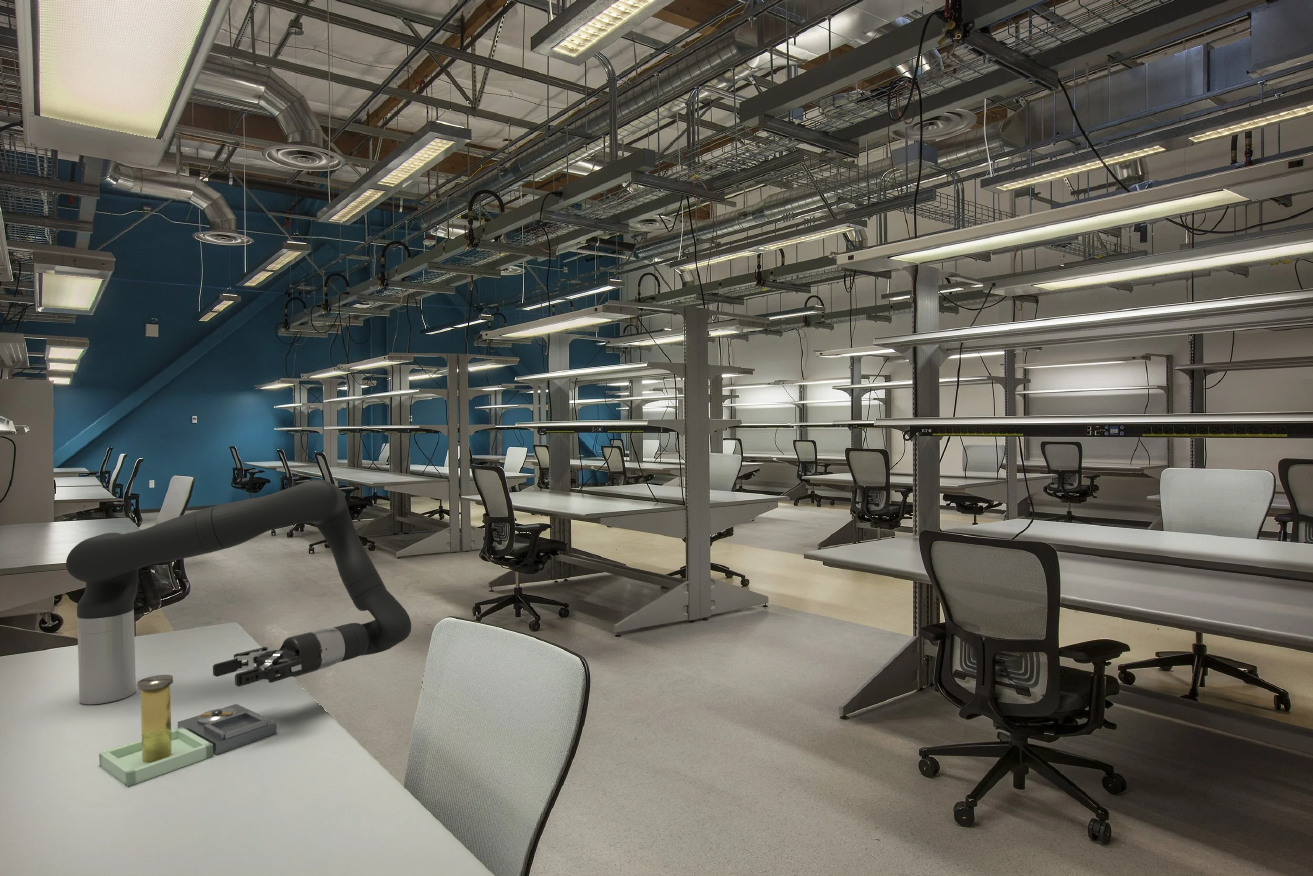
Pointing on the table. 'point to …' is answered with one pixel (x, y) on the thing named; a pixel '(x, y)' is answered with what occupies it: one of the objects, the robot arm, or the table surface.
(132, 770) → the tray
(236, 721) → the crank deck
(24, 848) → the table surface
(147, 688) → the pin
